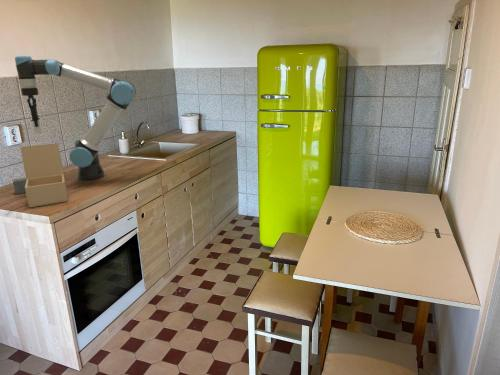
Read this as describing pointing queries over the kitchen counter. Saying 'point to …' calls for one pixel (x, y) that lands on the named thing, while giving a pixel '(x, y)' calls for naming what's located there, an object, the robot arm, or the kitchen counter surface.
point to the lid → (42, 160)
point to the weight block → (19, 185)
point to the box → (46, 190)
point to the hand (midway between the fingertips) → (38, 132)
